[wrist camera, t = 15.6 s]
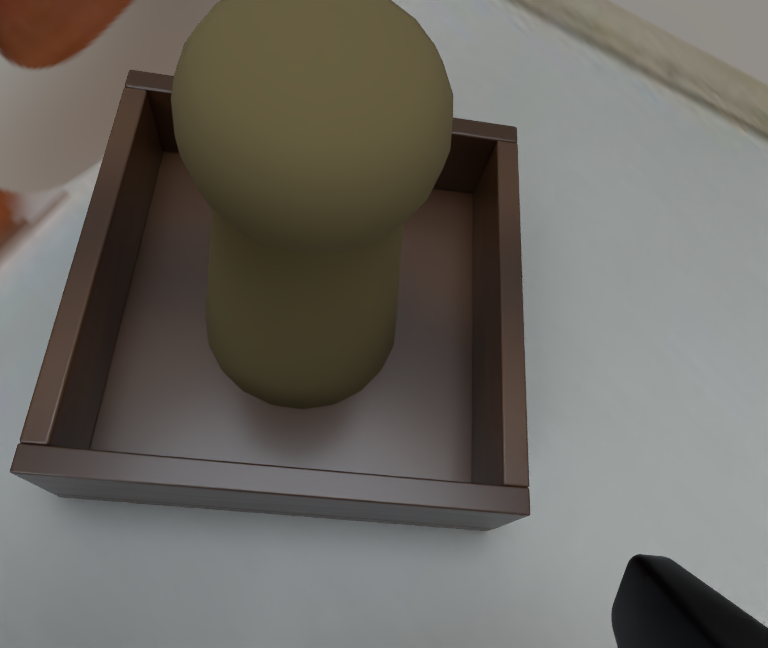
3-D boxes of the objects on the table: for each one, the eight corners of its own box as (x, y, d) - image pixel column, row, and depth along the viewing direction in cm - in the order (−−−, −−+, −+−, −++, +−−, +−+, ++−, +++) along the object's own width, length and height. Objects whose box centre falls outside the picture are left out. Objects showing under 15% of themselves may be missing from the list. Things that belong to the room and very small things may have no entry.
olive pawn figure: (368, 433, 19) (457, 248, 9) (174, 375, 19) (56, 124, 9) (415, 266, 22) (525, -19, 12) (245, 214, 22) (212, -119, 12)
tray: (489, 531, 19) (530, 515, 16) (58, 497, 18) (8, 472, 15) (486, 190, 24) (517, 126, 21) (150, 144, 23) (128, 68, 20)
